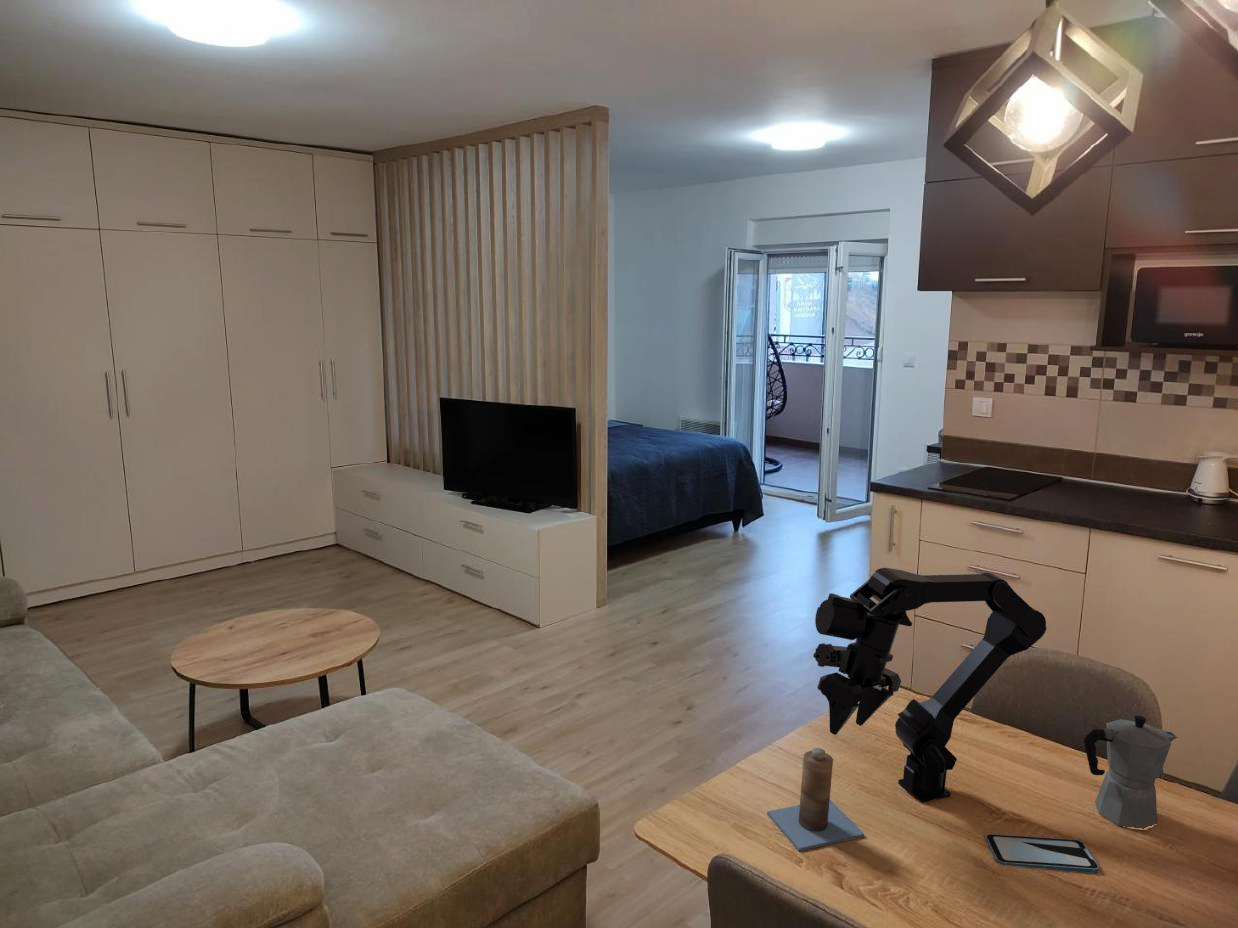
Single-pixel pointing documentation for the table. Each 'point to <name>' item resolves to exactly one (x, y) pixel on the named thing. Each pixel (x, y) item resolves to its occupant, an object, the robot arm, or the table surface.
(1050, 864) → the smartphone
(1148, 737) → the coffeepot
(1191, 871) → the table surface
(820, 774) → the pepper mill
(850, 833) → the placemat
